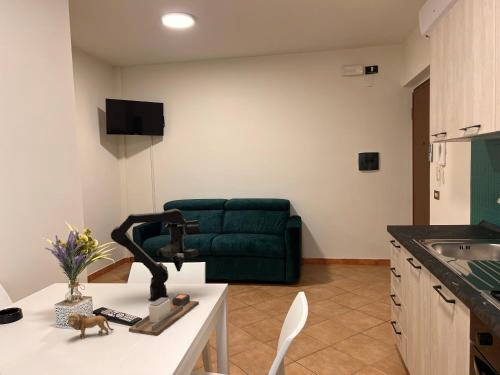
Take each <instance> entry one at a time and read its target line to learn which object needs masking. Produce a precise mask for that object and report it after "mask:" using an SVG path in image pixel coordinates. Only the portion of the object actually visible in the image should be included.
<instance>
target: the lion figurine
mask: <svg viewBox="0 0 500 375" xmlns="http://www.w3.org/2000/svg"><path fill="white" fill-rule="evenodd" d="M67 325H68V326H69V327H70V328H72V329H74V330H75V331H80V337H79V338H80V339H82V340H83V339H85V337H86V329H93V328H94V327H96V326H98V328H100V330H98V333H99V334H100V333H102V332H103V331H105V333H104V335H105V336H108V335H109V333H110V332H109V330H110V331H112V332H113V331H114V328H111V327H110V325H109V321H108V319H107V318H106V317H105V316H102V315H96V316H92V317H88V316H86V315H85V314H81V313H71V314H70V315H69V316H67ZM106 325H107V326H106Z"/></svg>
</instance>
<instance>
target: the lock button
mask: <svg viewBox="0 0 500 375" xmlns="http://www.w3.org/2000/svg"><path fill="white" fill-rule="evenodd" d="M187 295H188V294H185V295H179V296H177V297H175V296H174V297H175V298H180V299H183V298H185V297H186V296H187Z"/></svg>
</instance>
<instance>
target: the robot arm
mask: <svg viewBox="0 0 500 375" xmlns="http://www.w3.org/2000/svg"><path fill="white" fill-rule="evenodd" d="M157 222H162V223H163V222H164V223H166V225H165V226H164V228H165V229H169V239H168V243H167V245H165V246H164V247H161V248H159V249H158V250H157V256H160V257H163V258H168V259H170V260H171V261H172V262H173V264H174V267H175V270H176V271H177V272H180V271H182V270H181V269H182V267H183V264H184V262H185V259H193V258H195V257H198V256H199V251H198V250H197V249H196V248H194V249H193V248H189V249H186V246H184V241H185V242H186V238H185V237H184V235H186V237H192V236H193V237H195V236H199V235H200V234H201V233H200V230H201V229H200V226H199V225H200V224H199V220H197V219H196V220H188V221H186V219H185V218H184V217H183V214H182V211H181V210H179V209H177V208H172V209H167V210H164V211H161V212H151V213H148V212H147V213H136V214H134V213H131V214H129V215H128V216H127V218H126V219H125V220H124V221H122V223H121V224H120V225H119V226H116V227H114V228H113V230H112V231H111V232H110V238H111V240H112V241H113V242H114V243H116V244H118V245H120V246H122V247H124V248H125V249H127V250H128V251H129V252H130V254H132V255H133V256H134V257H135V258H136V259H137V260H138V261H139V262H140V263H142V265H143V266H144V267H146V268H147V269H148V270H149V272H150V274H151V276H152V277H151V278H150V285H149V293H150V295H149V296H150V298H148V301H152V302H155V301H156V300H158V299H160V298H161V297H162V298H169V295H168V292H167V291H168V290H167V287H166V284H165V283H166V282H168V280H169V270H168V266H166V265H164V264H163V262H162V261H159V263H158V262H156V261H154V259H153V258H152V257H150V255H149V254H147V253H146V252H145V251H144V250H143V249H142V248H141V247H140V246H139V245H138V244H137V243H136V242H135V241H134V240H133V238H132V237H131V234H129V232H128V231H129V229H130V228H131V227H132V226H133V225H135V224H144V223H157Z"/></svg>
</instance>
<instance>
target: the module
mask: <svg viewBox="0 0 500 375" xmlns="http://www.w3.org/2000/svg"><path fill="white" fill-rule="evenodd" d="M170 301H171V300H170V299H169V297H167V298H162V297H161V298H160V299H158V300H156V301H152V303H150V305H148V315H149V318H150V322H156V323H157V322H158V321H160V320H161V319H163V318H164V317H166V316H167V315H168V314H170V313H171V310H170Z"/></svg>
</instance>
